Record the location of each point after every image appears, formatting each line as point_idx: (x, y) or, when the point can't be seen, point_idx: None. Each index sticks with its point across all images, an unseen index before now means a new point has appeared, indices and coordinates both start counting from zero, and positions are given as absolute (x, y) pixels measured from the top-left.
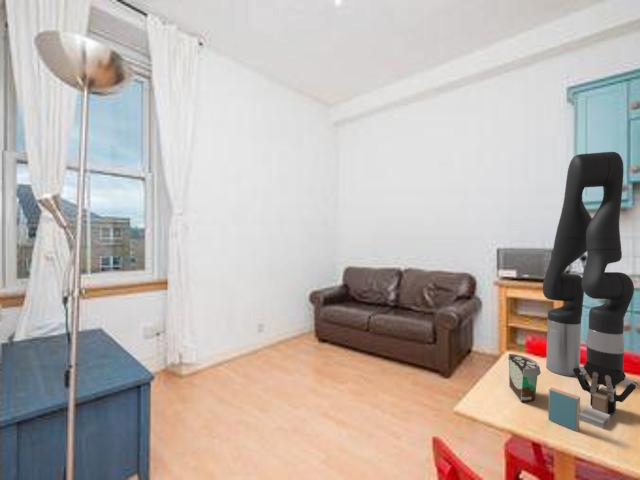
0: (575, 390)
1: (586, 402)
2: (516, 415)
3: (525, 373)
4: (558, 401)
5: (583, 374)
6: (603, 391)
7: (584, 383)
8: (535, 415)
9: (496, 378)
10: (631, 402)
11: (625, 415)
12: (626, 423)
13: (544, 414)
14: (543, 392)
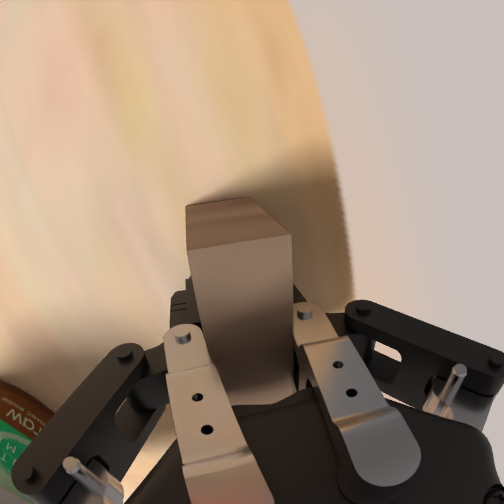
0: (20, 153)
1: (130, 263)
2: (131, 488)
3: None
4: None
5: (118, 485)
6: (243, 342)
7: (146, 439)
8: (144, 472)
9: None
10: (280, 14)
11: (313, 229)
12: (331, 308)
13: (147, 460)
14: (5, 340)
